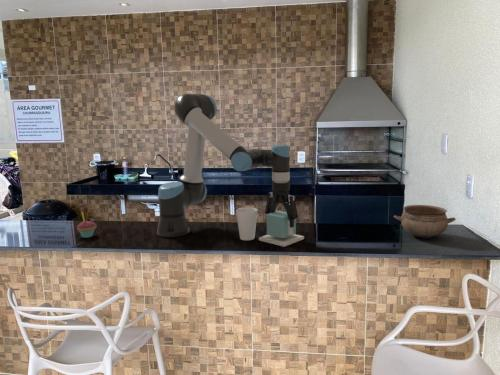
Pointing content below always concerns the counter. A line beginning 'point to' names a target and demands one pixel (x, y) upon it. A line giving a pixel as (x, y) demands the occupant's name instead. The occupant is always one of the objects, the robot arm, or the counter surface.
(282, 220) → the block
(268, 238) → the mat
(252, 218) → the foam cup
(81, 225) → the cupcake
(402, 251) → the counter surface
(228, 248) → the counter surface
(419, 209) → the cooking pot
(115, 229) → the counter surface
